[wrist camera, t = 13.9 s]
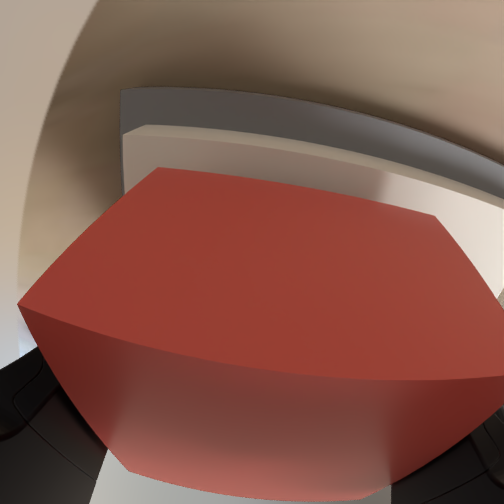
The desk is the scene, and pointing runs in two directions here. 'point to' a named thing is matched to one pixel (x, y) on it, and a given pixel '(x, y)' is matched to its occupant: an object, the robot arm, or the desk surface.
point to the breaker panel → (305, 126)
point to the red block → (269, 337)
